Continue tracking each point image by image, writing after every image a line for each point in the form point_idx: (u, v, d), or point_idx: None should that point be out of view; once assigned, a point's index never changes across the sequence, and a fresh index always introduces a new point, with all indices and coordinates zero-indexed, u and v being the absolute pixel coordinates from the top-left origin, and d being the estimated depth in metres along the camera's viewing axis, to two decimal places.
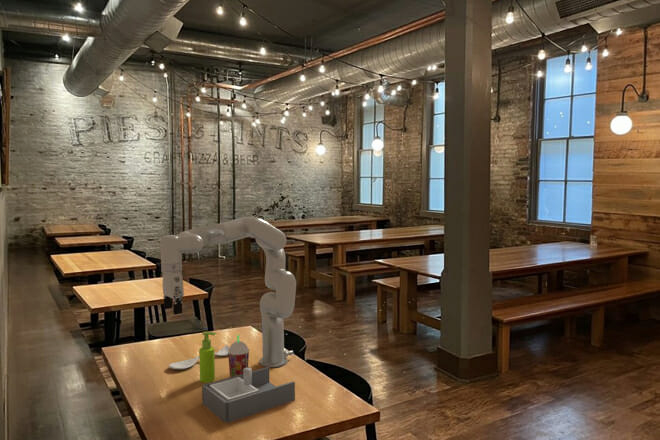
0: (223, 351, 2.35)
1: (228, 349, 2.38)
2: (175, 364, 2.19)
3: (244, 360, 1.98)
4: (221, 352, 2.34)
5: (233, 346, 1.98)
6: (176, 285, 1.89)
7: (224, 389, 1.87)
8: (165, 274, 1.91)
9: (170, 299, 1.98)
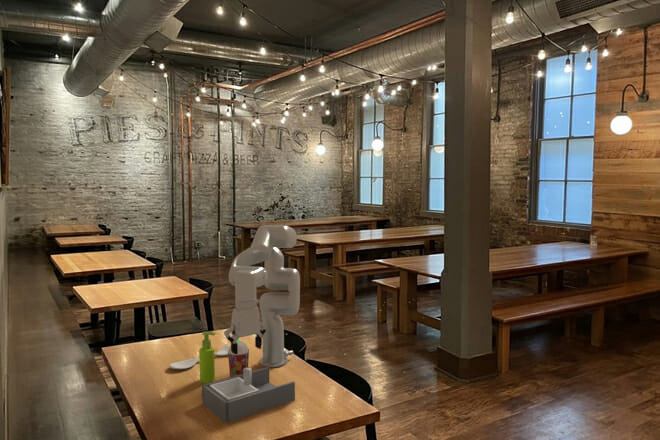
0: (223, 351, 2.36)
1: None
2: (175, 364, 2.19)
3: (244, 360, 1.98)
4: (221, 352, 2.35)
5: None
6: None
7: (224, 389, 1.87)
8: (249, 312, 1.80)
9: None
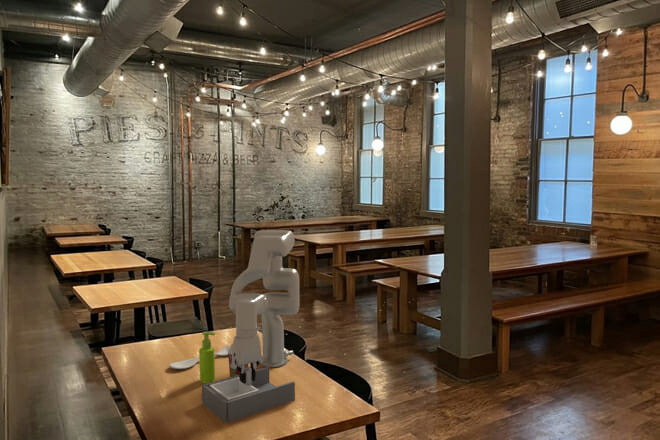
0: (224, 351, 2.36)
1: None
2: (176, 364, 2.20)
3: None
4: (222, 352, 2.35)
5: None
6: None
7: (224, 389, 1.87)
8: (250, 340, 1.81)
9: None
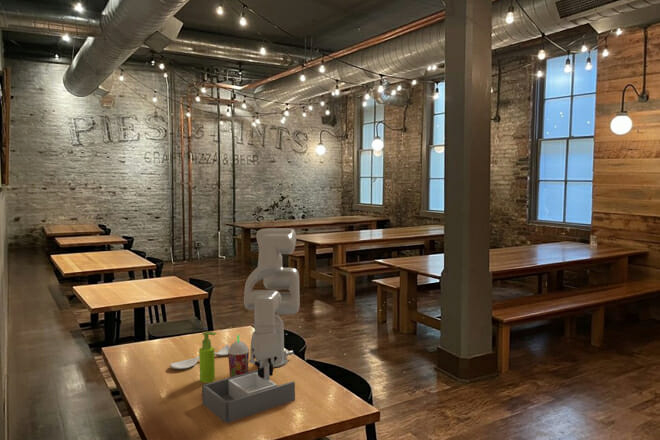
0: (224, 351, 2.36)
1: None
2: (176, 364, 2.20)
3: (244, 360, 1.98)
4: (222, 352, 2.35)
5: (233, 346, 1.98)
6: None
7: (242, 383, 1.91)
8: (268, 336, 1.86)
9: None
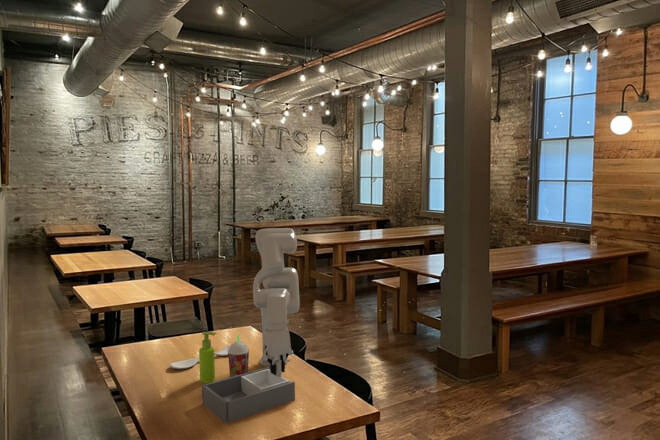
0: (225, 351, 2.36)
1: None
2: (176, 363, 2.20)
3: (244, 360, 1.98)
4: (222, 352, 2.35)
5: (233, 346, 1.98)
6: None
7: (255, 380, 1.95)
8: (280, 333, 1.89)
9: None
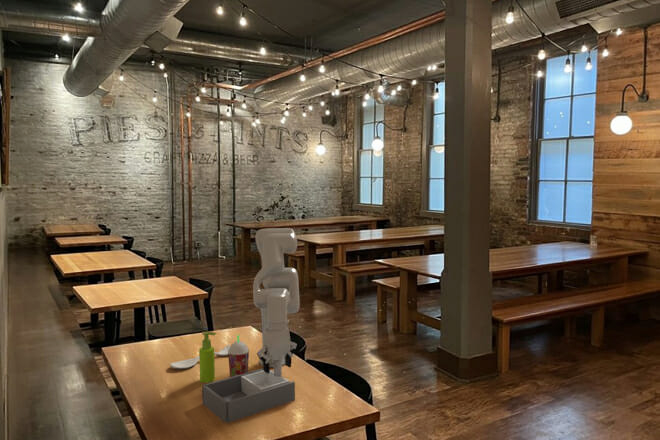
0: (225, 351, 2.36)
1: None
2: (176, 363, 2.20)
3: (244, 360, 1.98)
4: (223, 352, 2.35)
5: (233, 346, 1.98)
6: None
7: (255, 380, 1.95)
8: (280, 333, 1.89)
9: None
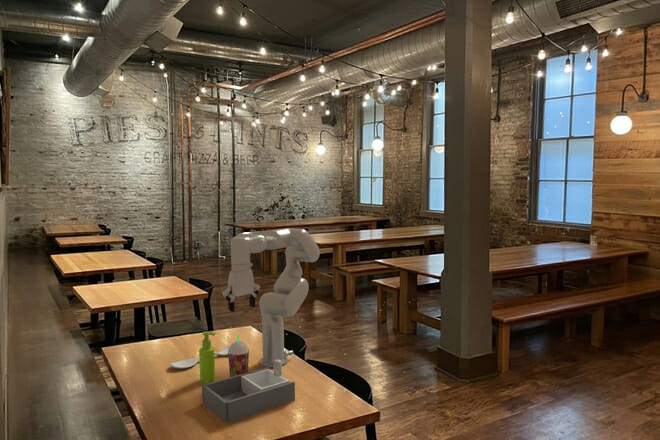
0: (225, 350, 2.36)
1: None
2: (177, 363, 2.20)
3: (244, 360, 1.98)
4: (223, 351, 2.35)
5: (233, 346, 1.98)
6: None
7: (255, 380, 1.95)
8: (244, 274, 2.01)
9: None
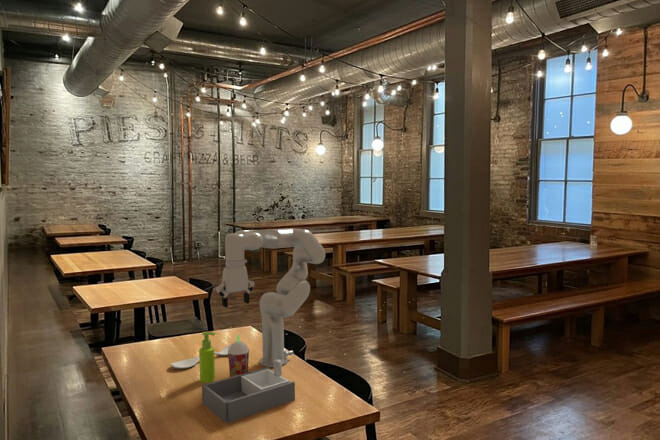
0: (225, 350, 2.36)
1: None
2: (177, 363, 2.20)
3: (244, 360, 1.98)
4: (223, 351, 2.35)
5: (233, 346, 1.98)
6: None
7: (255, 380, 1.95)
8: (238, 270, 2.03)
9: None
